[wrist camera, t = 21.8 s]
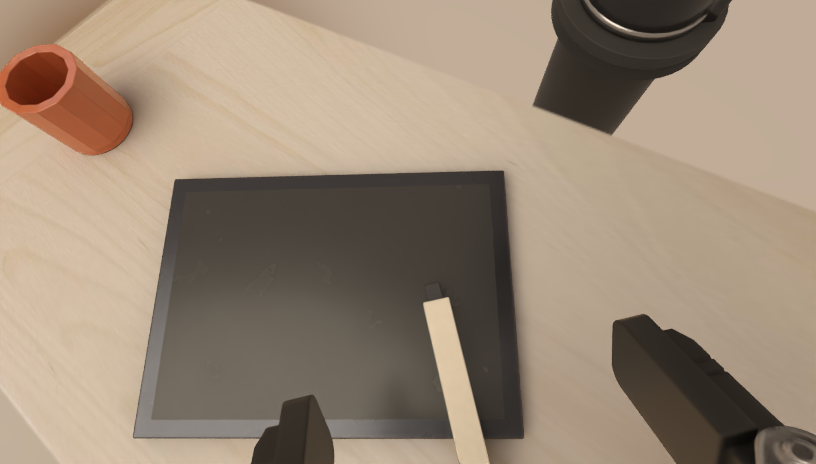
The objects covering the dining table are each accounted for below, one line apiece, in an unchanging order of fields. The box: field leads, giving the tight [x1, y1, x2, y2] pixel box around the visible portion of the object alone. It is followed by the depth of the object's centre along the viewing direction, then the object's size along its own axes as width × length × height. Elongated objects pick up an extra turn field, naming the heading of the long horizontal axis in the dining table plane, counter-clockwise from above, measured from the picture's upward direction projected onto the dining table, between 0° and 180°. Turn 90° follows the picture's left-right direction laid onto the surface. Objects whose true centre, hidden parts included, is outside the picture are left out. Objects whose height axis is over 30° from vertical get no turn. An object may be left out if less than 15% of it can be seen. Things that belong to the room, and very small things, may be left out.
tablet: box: [133, 171, 524, 439], centre depth 28 cm, size 22×16×1 cm
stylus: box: [423, 282, 490, 464], centre depth 24 cm, size 2×2×13 cm
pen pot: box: [0, 44, 133, 155], centre depth 30 cm, size 5×5×6 cm
